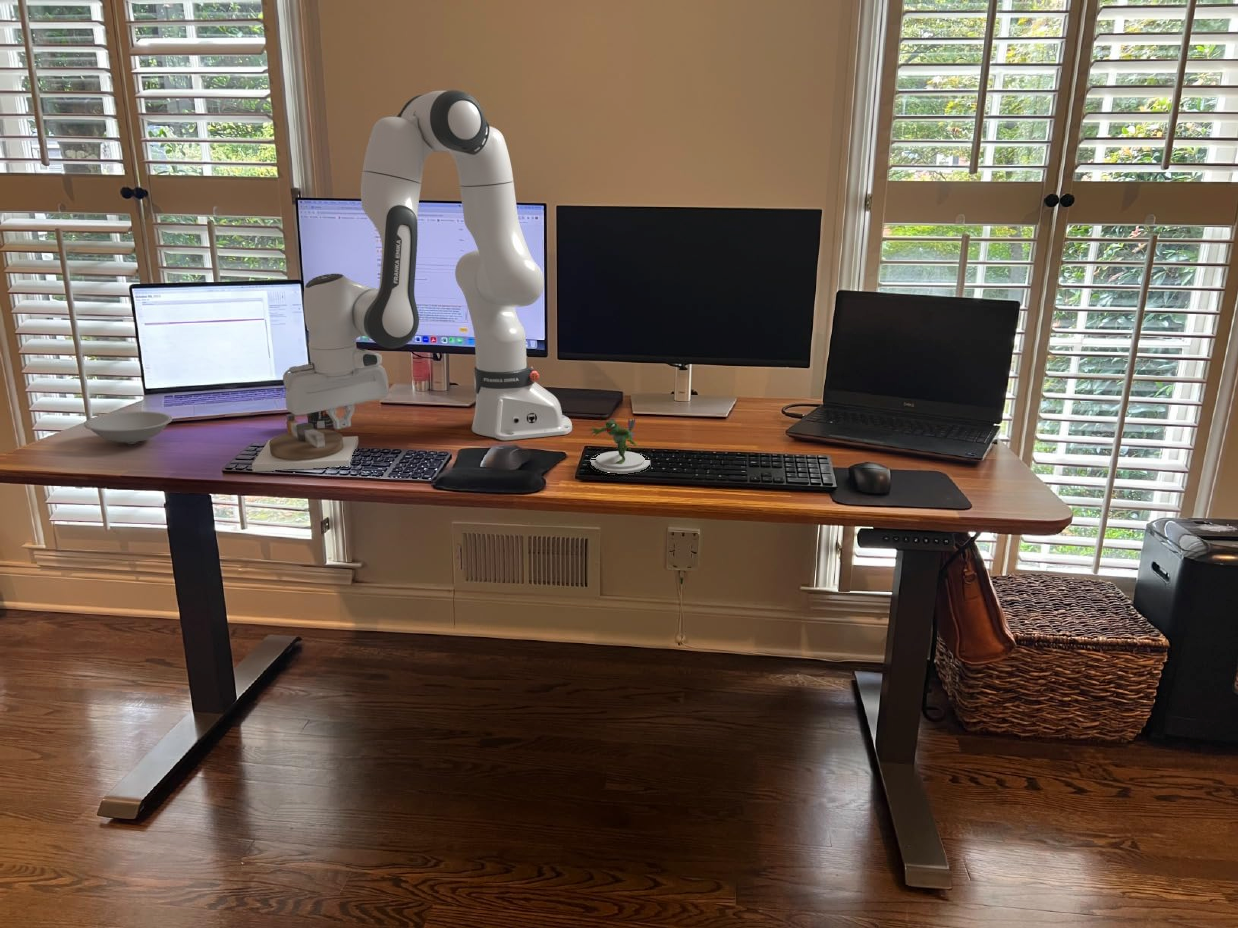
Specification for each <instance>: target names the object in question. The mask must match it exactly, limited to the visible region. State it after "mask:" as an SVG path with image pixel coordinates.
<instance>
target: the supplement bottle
mask: <svg viewBox="0 0 1238 928" xmlns="http://www.w3.org/2000/svg"><path fill="white" fill-rule="evenodd" d="M334 414H335V415H336V413H334ZM306 415H307V423H312V424H313V428H314V429H323V430H332V431H335V430H336V429H335V428H334V425H333V420H332V419H331V418H330V416H329V415H328V414H327V413H326V410H323V411H319V412H314V413H309V414H306Z"/></svg>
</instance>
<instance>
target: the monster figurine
mask: <svg viewBox="0 0 1238 928" xmlns="http://www.w3.org/2000/svg"><path fill="white" fill-rule="evenodd" d="M604 422H605V426H603V427H602V428H596V427H594V426H592V428H591V429H589V430H588V431H589V432H590V431H592V432H591V433H590V436H591V435H592V434H594V435H593V438H594V437H595V436H597V435H598V434H601V433H602V432H606V433H607V434H608V435H609V436H612V437H613V442H614V443H615V444H617V450H614V451H607V452H606V451H605V452H603V453H599V454H600V455H598V454H597V455H598V456H597V457H596V458H592V457H591V458H590V460H589V461H590V462H591V465H592V466H594V467H595V468H596V469H599V470H601V471H604V472H610V473H617V474H628V473H634V472H640V471H641V470H644V469H646V468H647V467H648V466H649V465H650V466H651V459H650V458H649V457H648V459H650V460H645V458H644V457H643V456H642V455H643V454H641V453H636V452H634V451H633V452H632V451H627V449H628V445H627V442H629V443H630V445H633V446H634V447H636V446H637V443H635V441H634V440H632V439H633V438H634V436H635V435H636V433H635V431H632V430H633V429H634V427H635V424H636V418H634V419H631V420H630V418H628V420H627V425H628V429H626V428H624V427H621V425H619V424H618V422H616V419H614V418H610V419H609V421H606V420H605V421H604ZM640 454H641V455H640ZM591 459H596V460H591ZM590 462H589V463H590ZM640 473H641V472H640ZM628 475H629V474H628Z"/></svg>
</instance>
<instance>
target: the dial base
mask: <svg viewBox="0 0 1238 928" xmlns="http://www.w3.org/2000/svg"><path fill="white" fill-rule="evenodd" d="M285 416H286V423H287V422H288V421H293V420H295V415H294V414H292V413H289V414H285ZM270 440H271V439H268V441H267V442H266V443H265V445H264V447H262V449H261V450H260V452H259V454H258V455H257V456H256V458H255V459H254V461H253V462H252V463H251V468H252V473H255V472H256V473H257V472H258V473H259V472H276V471H275V470H282V471H284V470H283V469H304V470H314V469H313V468H326V467H334V466H349V465H350V466H351V464H350V462H351V459H352V455H353V452H354V450H355V449H356V450H357V448H358V445H359V436H343V448H342V449H341V450H340V451H339V452H337V453H334V454H332V455H329V456H325V457H320V458H314V459H305V460H288V459H281V458H277V457H274V456H273V455H272V454H271V453H270V445H269V442H270ZM352 460H353V459H352ZM351 463H352V462H351Z"/></svg>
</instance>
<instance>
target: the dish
mask: <svg viewBox="0 0 1238 928" xmlns="http://www.w3.org/2000/svg"><path fill="white" fill-rule="evenodd" d="M172 421H173V416H171V415H169V414H167V413H164V412H158V411H150V410H149V411H147V410H146V411H144V410H143V411H142V410H138V411H136V410H135V411H121V412H112V413H107V414H102V415H98V416H94V417H91V418H89V419H87V420H85V421H84V422H83V426H84V427H85V428H86V429H88V430H90V431H92V432H93V433H95V434H96V435H97V436H99V437H100V438H102V439H105V440H108V441H111V442H112V441H113V442H117V443H127V444H128V445H135V444H137V443H138V442H142V441H147V440H149V439H152V438H155V437H156V436H158V434H160V433H161V432H162V431H163V430H164V429H165V428H166V427H167V425H168V424H170V423H171V422H172Z"/></svg>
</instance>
